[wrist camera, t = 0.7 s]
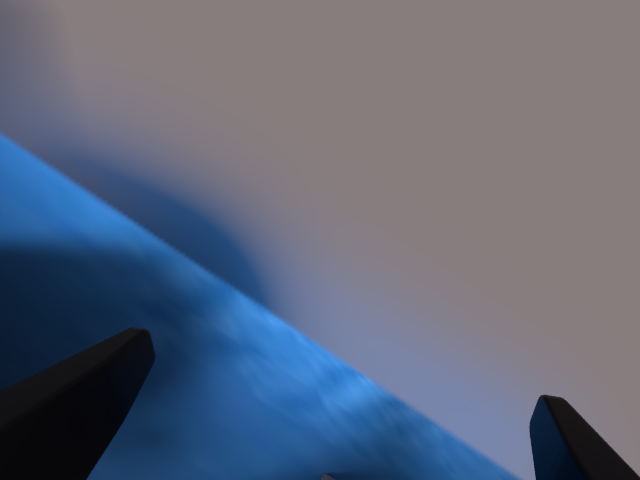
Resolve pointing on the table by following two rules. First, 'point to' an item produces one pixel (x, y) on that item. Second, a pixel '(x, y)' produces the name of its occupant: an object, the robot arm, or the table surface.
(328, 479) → the flange socket
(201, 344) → the table surface
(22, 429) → the robot arm
